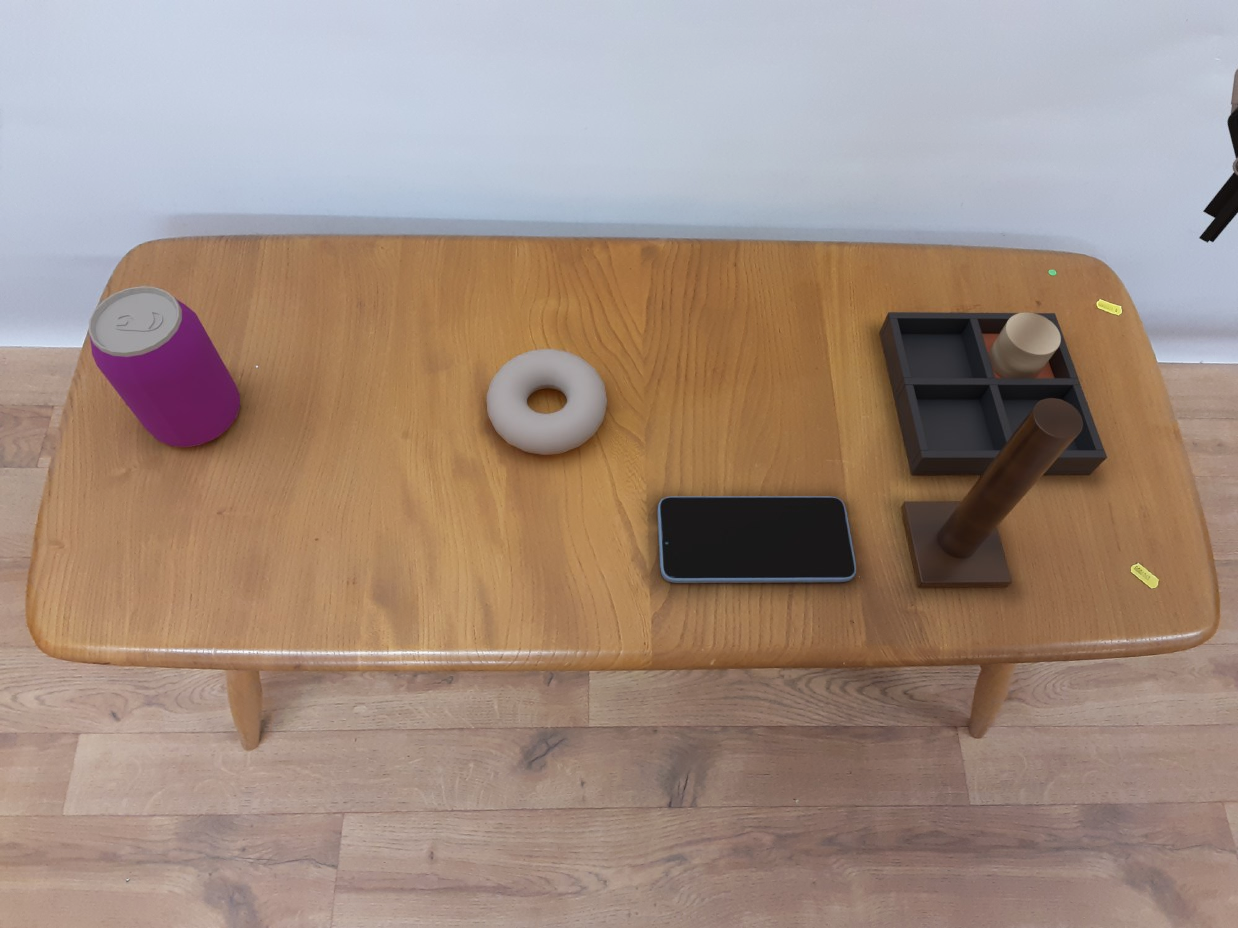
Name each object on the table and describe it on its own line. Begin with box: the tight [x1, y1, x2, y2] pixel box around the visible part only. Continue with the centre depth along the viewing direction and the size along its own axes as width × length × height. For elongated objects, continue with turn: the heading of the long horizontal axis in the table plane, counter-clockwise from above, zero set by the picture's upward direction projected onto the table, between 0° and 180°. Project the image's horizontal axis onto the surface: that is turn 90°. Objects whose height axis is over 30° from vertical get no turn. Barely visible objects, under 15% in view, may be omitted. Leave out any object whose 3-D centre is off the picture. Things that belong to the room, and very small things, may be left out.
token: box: [988, 311, 1061, 378], centre depth 77 cm, size 5×5×4 cm
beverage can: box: [87, 285, 241, 448], centre depth 68 cm, size 8×8×12 cm
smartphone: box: [657, 495, 857, 584], centre depth 69 cm, size 7×1×15 cm
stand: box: [900, 398, 1083, 589], centre depth 62 cm, size 7×7×18 cm
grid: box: [878, 311, 1108, 476], centre depth 76 cm, size 15×15×3 cm
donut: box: [485, 348, 608, 456], centre depth 73 cm, size 10×4×10 cm
